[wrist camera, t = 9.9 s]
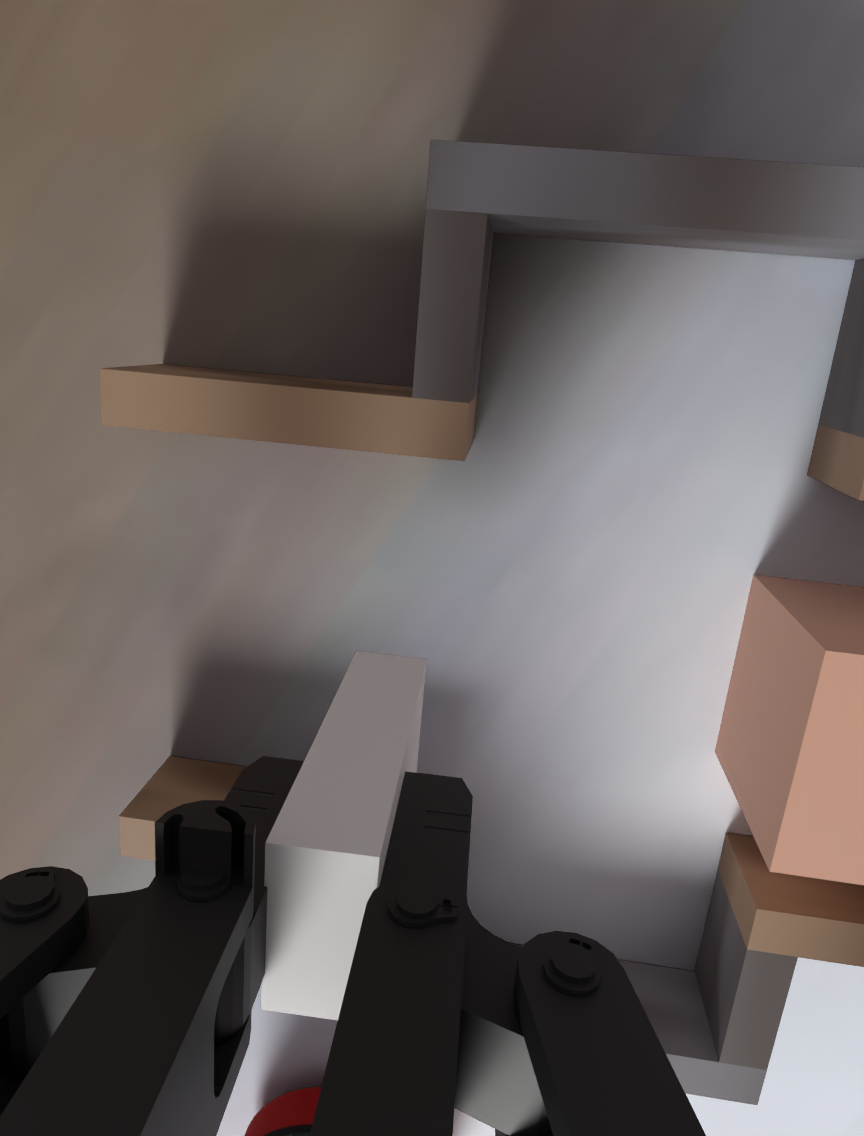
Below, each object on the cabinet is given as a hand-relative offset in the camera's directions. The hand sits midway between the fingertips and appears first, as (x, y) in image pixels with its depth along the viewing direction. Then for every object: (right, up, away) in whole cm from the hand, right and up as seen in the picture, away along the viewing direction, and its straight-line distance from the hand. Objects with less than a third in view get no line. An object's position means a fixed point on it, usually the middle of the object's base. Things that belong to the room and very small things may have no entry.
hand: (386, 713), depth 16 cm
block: (+11, 0, +3) cm, 12 cm away
